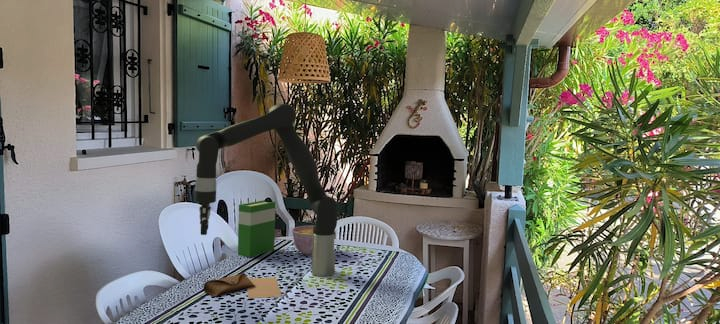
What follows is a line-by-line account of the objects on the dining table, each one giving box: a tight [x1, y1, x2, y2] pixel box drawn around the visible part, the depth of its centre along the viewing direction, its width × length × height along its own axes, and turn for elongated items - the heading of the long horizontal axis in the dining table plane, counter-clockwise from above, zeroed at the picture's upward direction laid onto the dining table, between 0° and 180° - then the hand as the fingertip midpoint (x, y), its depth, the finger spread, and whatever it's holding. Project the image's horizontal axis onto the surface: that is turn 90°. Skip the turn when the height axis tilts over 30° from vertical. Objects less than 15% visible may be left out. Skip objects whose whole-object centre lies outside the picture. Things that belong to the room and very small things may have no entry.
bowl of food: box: [291, 225, 315, 256], centre depth 239 cm, size 20×20×12 cm
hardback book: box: [237, 200, 276, 258], centre depth 237 cm, size 18×7×24 cm, turn 150°
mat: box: [246, 277, 283, 300], centre depth 188 cm, size 12×22×1 cm, turn 15°
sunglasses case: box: [203, 272, 255, 297], centre depth 185 cm, size 18×7×7 cm
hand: (204, 232), depth 184 cm, fingers open, 8 cm apart
